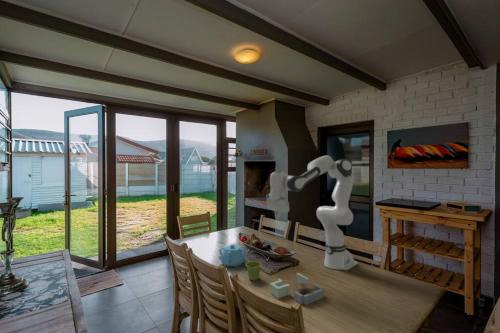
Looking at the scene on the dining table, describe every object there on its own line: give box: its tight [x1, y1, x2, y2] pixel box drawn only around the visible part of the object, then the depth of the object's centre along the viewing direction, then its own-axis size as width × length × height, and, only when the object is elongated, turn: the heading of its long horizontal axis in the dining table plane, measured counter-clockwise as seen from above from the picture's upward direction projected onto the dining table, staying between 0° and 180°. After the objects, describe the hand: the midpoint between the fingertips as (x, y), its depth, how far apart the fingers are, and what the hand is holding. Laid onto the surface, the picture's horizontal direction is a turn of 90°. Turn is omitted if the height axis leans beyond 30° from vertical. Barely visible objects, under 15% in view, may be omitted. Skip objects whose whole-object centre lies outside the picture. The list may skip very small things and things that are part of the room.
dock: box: [293, 284, 324, 306], centre depth 125 cm, size 15×6×4 cm, turn 120°
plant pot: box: [245, 260, 262, 281], centre depth 150 cm, size 9×9×9 cm
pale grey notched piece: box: [269, 272, 311, 299], centre depth 135 cm, size 21×9×5 cm, turn 120°
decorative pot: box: [218, 243, 247, 268], centre depth 172 cm, size 16×16×14 cm
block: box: [296, 282, 312, 295], centre depth 126 cm, size 6×6×6 cm
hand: (277, 217), depth 160 cm, fingers closed
